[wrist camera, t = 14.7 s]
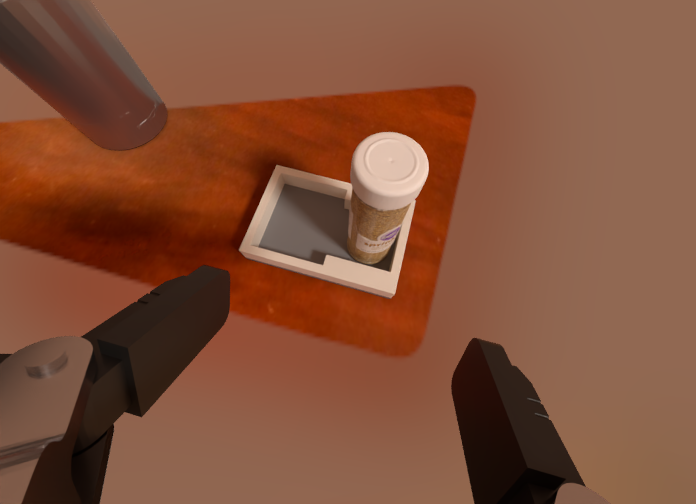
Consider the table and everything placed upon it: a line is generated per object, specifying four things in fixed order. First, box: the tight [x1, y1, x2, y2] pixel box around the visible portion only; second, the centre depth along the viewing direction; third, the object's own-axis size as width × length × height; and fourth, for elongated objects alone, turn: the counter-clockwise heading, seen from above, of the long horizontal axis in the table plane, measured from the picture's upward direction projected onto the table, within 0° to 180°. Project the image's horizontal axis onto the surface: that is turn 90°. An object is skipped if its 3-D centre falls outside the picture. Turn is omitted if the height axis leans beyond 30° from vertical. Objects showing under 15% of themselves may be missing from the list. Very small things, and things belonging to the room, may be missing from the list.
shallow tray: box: [239, 165, 416, 299], centre depth 28 cm, size 15×10×2 cm, turn 74°
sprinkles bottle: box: [347, 132, 429, 264], centre depth 22 cm, size 5×5×13 cm
